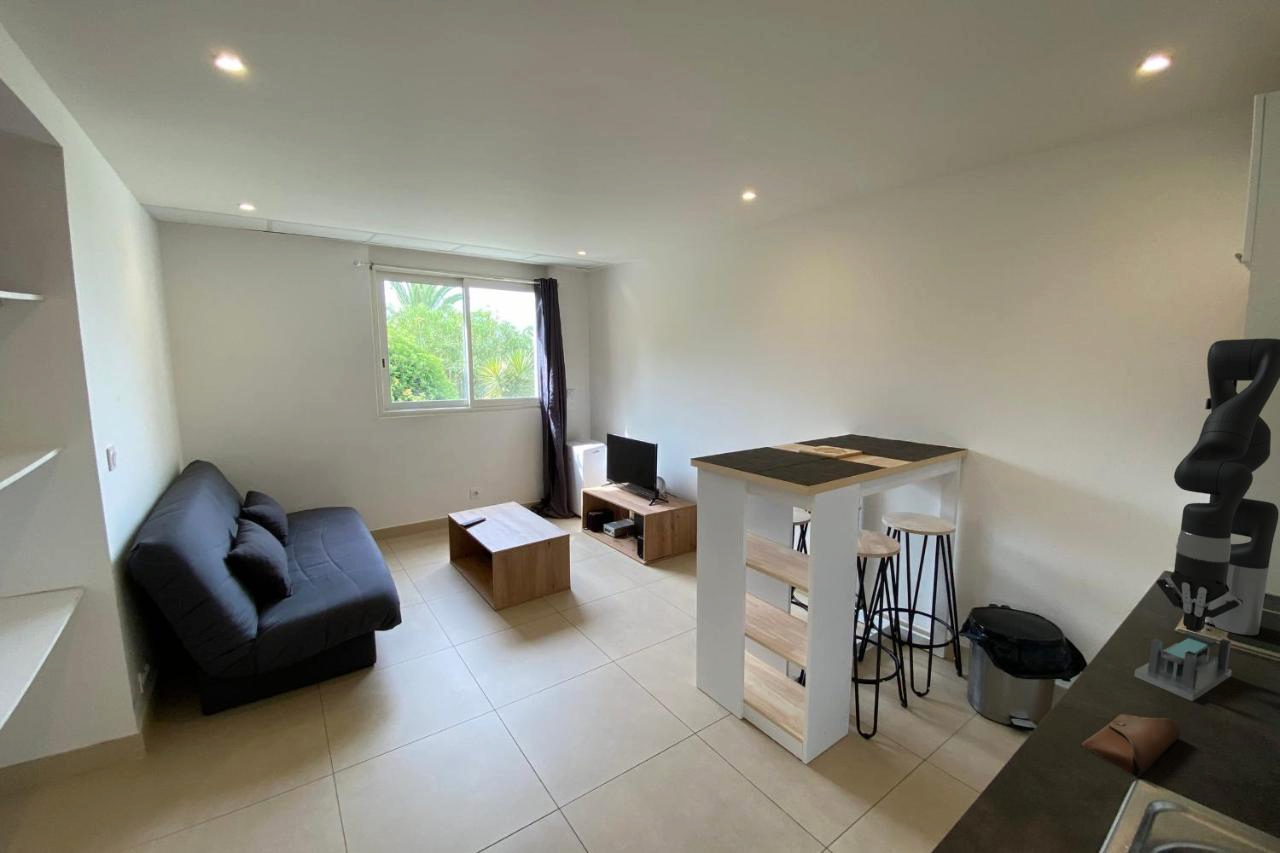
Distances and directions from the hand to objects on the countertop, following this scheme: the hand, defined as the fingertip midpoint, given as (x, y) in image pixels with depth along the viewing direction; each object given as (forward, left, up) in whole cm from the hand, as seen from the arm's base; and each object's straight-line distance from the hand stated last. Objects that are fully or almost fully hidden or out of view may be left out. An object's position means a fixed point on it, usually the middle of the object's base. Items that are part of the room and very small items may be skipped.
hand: (1192, 629), depth 109 cm
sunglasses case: (+36, +5, -11) cm, 38 cm away
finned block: (+2, 0, -10) cm, 10 cm away
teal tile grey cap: (+2, 0, -5) cm, 5 cm away
